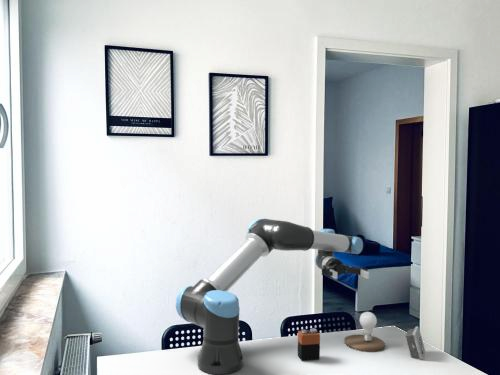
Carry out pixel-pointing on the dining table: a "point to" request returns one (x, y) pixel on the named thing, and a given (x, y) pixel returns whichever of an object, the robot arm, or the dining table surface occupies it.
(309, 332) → the battery
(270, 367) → the dining table surface
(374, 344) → the board
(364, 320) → the lightbulb
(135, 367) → the dining table surface
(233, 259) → the robot arm
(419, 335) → the electrical switch
